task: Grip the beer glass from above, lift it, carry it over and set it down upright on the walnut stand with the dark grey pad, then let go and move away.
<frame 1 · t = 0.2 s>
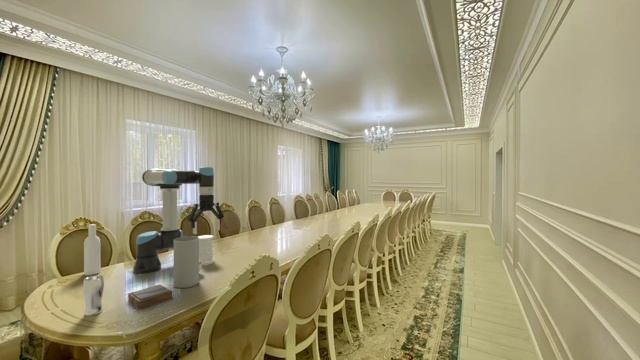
hand: (206, 232, 152), 28 cm above the table, tool pointing down, fingers open, 13 cm apart
cylinder vase: (186, 284, 149), on the table
beer glass: (93, 312, 117), on the table
bottle: (92, 273, 166), on the table
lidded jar: (192, 275, 163), on the table
walnut stand: (150, 299, 129), on the table
decorative container: (205, 263, 186), on the table
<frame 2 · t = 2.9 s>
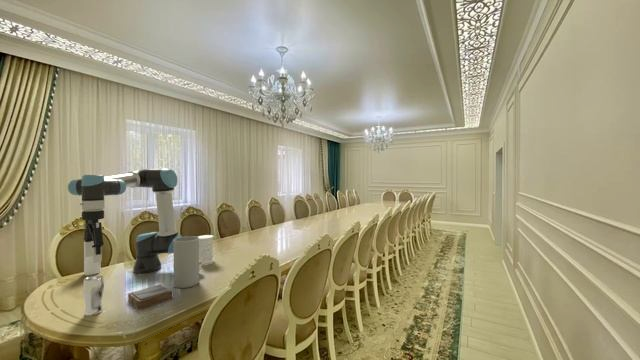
hand: (93, 259, 117), 23 cm above the table, tool pointing down, fingers open, 13 cm apart
nothing on the table moved.
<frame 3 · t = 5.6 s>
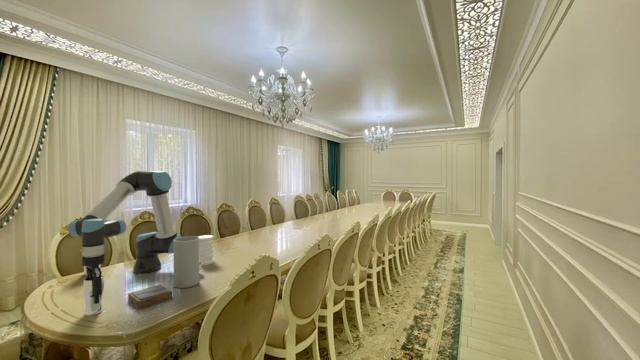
hand: (93, 307, 117), 2 cm above the table, tool pointing down, fingers closed on beer glass, 6 cm apart
beer glass: (93, 312, 117), on the table, touching gripper
everything else where it was.
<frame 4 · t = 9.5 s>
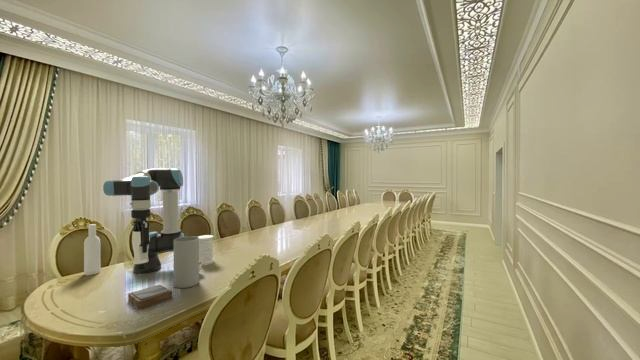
hand: (141, 257, 127), 21 cm above the table, tool pointing down, fingers closed on beer glass, 6 cm apart
beer glass: (141, 262, 127), point 19 cm above the table, touching gripper
everything else where it was.
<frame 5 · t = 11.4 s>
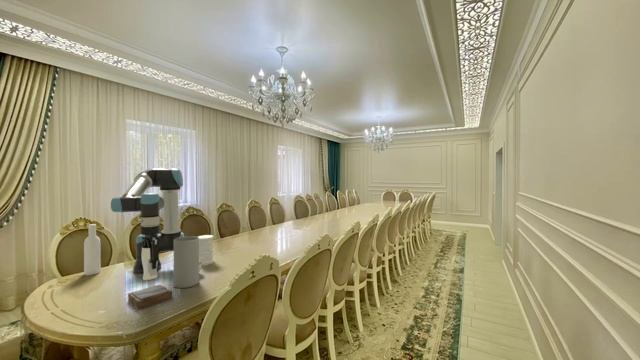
hand: (150, 273, 129), 13 cm above the table, tool pointing down, fingers closed on beer glass, 6 cm apart
beer glass: (150, 278, 129), point 10 cm above the table, touching gripper
everything else where it was.
when the fingers open (7 cm above the table, at t = 13.2 s): beer glass drops 1 cm, resting on walnut stand.
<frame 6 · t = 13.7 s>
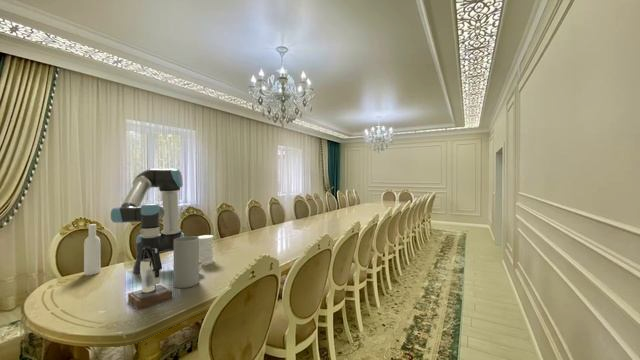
hand: (150, 280, 129), 9 cm above the table, tool pointing down, fingers open, 13 cm apart
beer glass: (149, 290, 130), point 4 cm above the table, touching walnut stand
everything else where it was.
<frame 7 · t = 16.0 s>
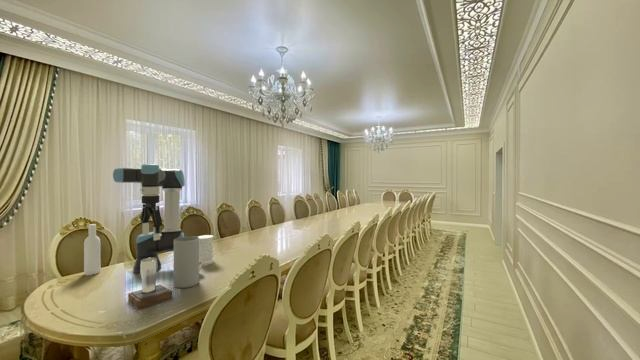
hand: (151, 237, 134), 29 cm above the table, tool pointing down, fingers open, 13 cm apart
nothing on the table moved.
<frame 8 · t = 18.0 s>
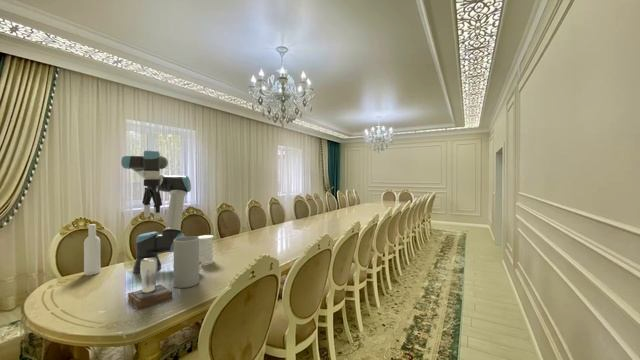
hand: (152, 217, 148), 37 cm above the table, tool pointing down, fingers open, 13 cm apart
nothing on the table moved.
at the end: beer glass inside the target area on the walnut stand (1.9 cm from its centre), point 3.8 cm above the walnut stand's base; beer glass tilted 0°; the gripper is holding nothing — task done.
